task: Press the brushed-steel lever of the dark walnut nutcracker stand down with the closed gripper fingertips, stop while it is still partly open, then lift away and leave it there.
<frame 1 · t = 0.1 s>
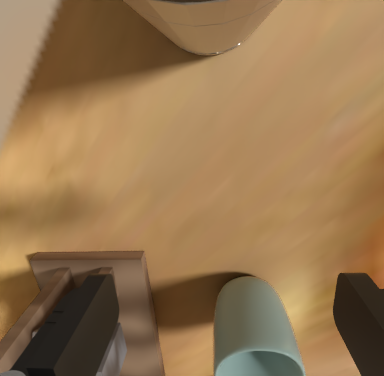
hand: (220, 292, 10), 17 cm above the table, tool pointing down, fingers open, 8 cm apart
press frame: (95, 272, 32), on the table
cup: (246, 290, 32), on the table
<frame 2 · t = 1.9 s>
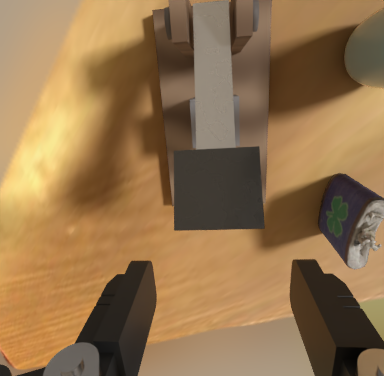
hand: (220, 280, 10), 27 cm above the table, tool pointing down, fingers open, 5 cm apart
lever: (214, 110, 22), point 13 cm above the table, hinge at 30.0°
flask: (331, 202, 38), on the table
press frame: (212, 37, 31), on the table
cup: (368, 52, 31), on the table
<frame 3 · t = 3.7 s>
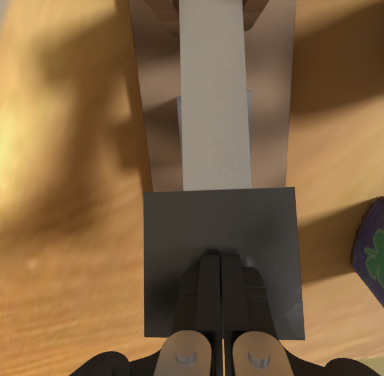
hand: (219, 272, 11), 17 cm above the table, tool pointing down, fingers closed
lever: (214, 119, 13), point 13 cm above the table, hinge at 27.1°, touching gripper
flask: (368, 233, 29), on the table
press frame: (211, 8, 22), on the table
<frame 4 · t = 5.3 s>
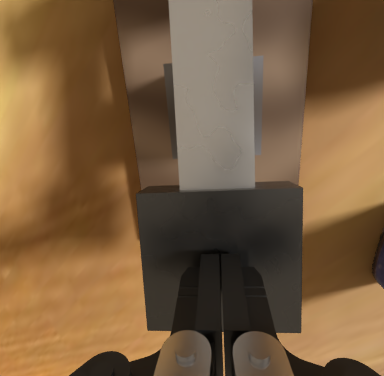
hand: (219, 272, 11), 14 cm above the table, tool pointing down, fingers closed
lever: (213, 100, 11), point 11 cm above the table, hinge at 12.1°, touching gripper
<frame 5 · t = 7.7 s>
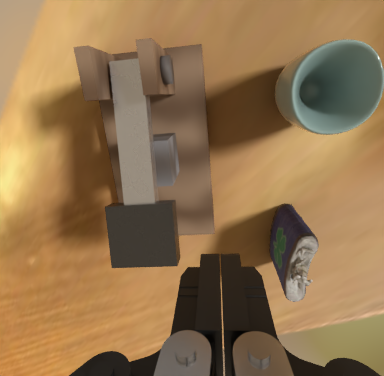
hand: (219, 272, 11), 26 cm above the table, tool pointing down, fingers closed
lever: (137, 166, 25), point 11 cm above the table, hinge at 12.1°
flask: (280, 231, 39), on the table
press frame: (151, 79, 33), on the table
cup: (300, 91, 32), on the table
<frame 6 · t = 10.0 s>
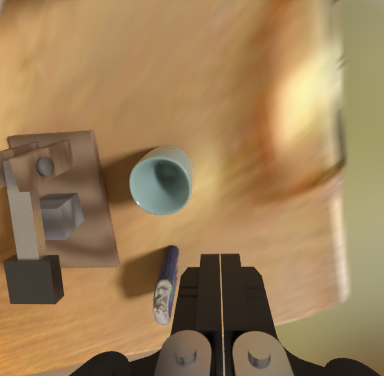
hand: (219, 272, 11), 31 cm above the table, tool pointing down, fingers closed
lever: (28, 232, 35), point 11 cm above the table, hinge at 12.1°
flask: (171, 265, 49), on the table
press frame: (58, 151, 42), on the table
cup: (172, 164, 42), on the table
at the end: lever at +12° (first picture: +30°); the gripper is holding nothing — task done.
